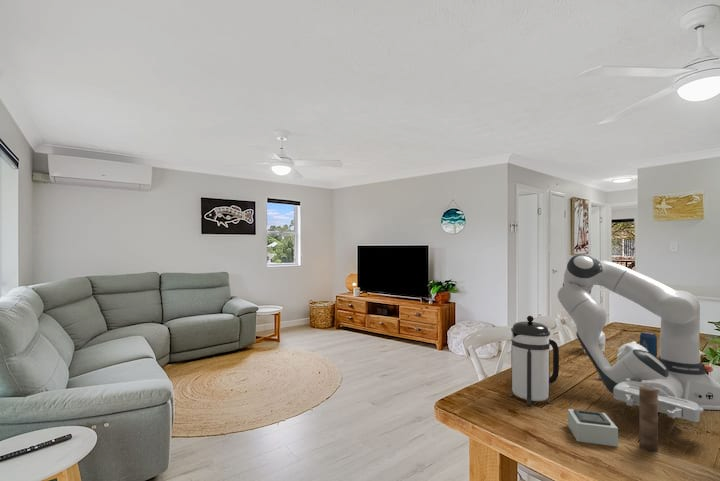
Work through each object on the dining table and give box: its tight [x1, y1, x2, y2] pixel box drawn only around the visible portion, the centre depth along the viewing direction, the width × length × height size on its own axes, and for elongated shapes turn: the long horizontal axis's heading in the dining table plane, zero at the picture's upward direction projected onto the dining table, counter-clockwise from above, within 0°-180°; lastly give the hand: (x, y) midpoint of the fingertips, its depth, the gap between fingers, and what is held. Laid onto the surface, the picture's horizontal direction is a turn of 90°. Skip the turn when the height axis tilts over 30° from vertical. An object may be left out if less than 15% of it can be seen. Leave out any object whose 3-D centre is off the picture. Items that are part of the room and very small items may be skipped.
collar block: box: [567, 408, 619, 448], centre depth 108 cm, size 10×10×6 cm
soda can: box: [639, 331, 658, 357], centre depth 191 cm, size 7×7×12 cm
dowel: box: [638, 386, 659, 453], centre depth 102 cm, size 4×4×16 cm
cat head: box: [616, 340, 648, 362], centre depth 168 cm, size 15×13×12 cm
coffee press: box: [507, 315, 560, 408], centre depth 135 cm, size 17×16×30 cm
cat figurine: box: [598, 330, 606, 352], centre depth 197 cm, size 25×10×17 cm, turn 135°
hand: (649, 408), depth 106 cm, fingers open, 8 cm apart
